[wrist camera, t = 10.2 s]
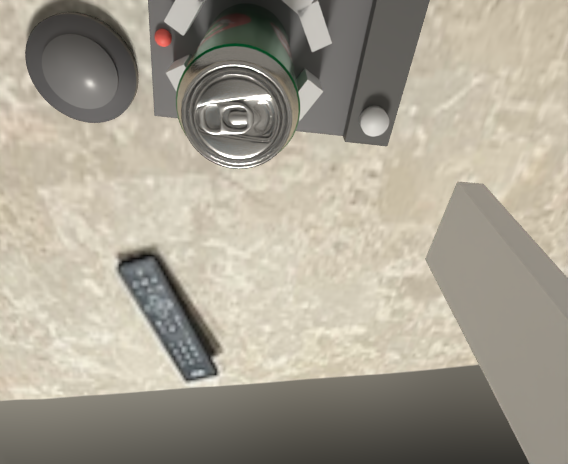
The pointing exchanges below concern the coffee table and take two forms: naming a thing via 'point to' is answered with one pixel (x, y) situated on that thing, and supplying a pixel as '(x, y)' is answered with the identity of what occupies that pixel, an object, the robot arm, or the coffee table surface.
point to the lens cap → (81, 67)
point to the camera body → (309, 57)
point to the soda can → (240, 89)
